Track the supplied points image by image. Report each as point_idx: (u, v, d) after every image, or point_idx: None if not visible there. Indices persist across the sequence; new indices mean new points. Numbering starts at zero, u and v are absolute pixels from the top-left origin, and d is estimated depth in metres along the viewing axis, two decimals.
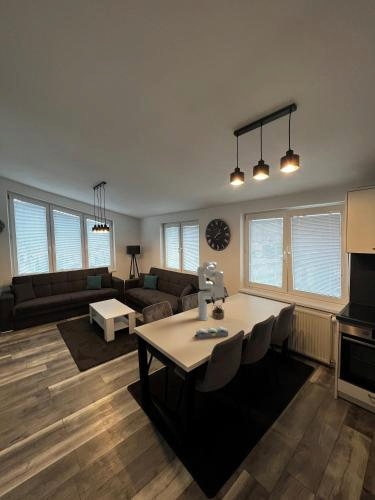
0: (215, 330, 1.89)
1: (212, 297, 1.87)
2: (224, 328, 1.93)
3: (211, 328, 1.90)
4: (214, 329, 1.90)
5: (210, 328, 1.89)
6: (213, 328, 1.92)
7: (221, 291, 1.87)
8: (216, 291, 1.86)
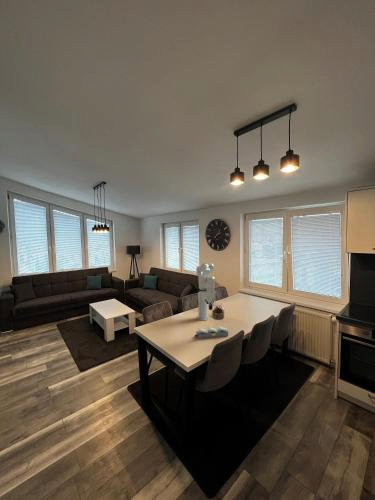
0: (215, 330, 1.89)
1: None
2: (224, 328, 1.93)
3: (211, 328, 1.90)
4: (214, 329, 1.90)
5: (210, 328, 1.89)
6: (213, 328, 1.92)
7: None
8: None
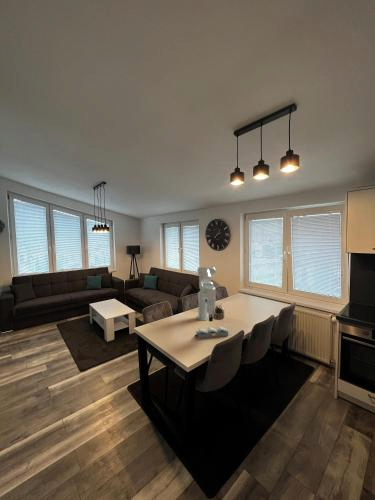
0: (215, 330, 1.89)
1: None
2: (224, 328, 1.93)
3: (211, 328, 1.90)
4: (214, 329, 1.90)
5: (210, 328, 1.89)
6: (213, 328, 1.92)
7: None
8: None
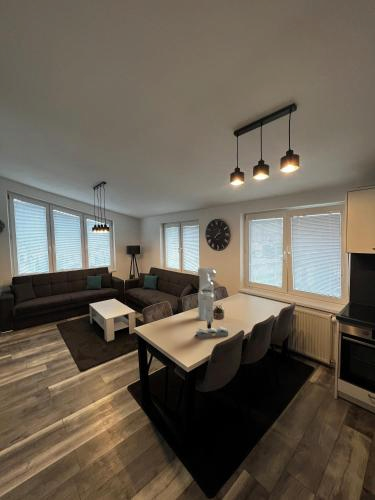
0: (215, 330, 1.89)
1: None
2: (224, 328, 1.93)
3: (211, 328, 1.90)
4: (214, 329, 1.90)
5: (210, 328, 1.89)
6: (213, 328, 1.92)
7: None
8: None
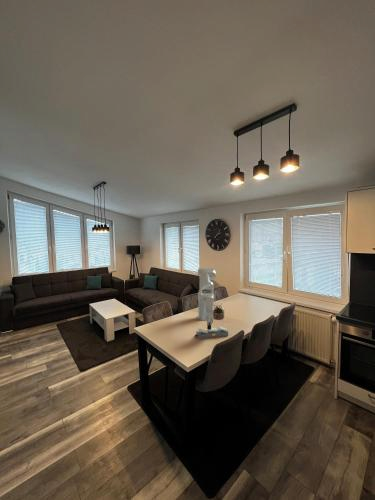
0: (215, 329, 1.89)
1: None
2: (224, 328, 1.93)
3: (211, 328, 1.89)
4: (214, 329, 1.90)
5: (210, 329, 1.89)
6: (213, 328, 1.92)
7: None
8: None
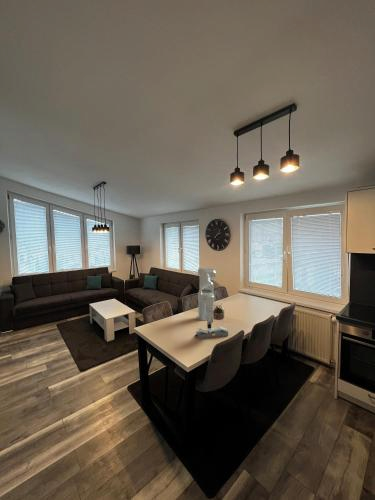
0: (215, 329, 1.89)
1: None
2: (224, 328, 1.93)
3: (210, 329, 1.89)
4: (214, 328, 1.90)
5: (209, 330, 1.89)
6: None
7: None
8: None
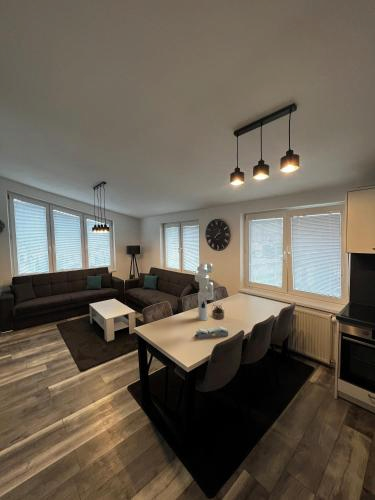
0: (215, 329, 1.88)
1: None
2: (224, 328, 1.93)
3: (210, 329, 1.89)
4: (214, 328, 1.90)
5: (209, 330, 1.89)
6: (213, 327, 1.92)
7: None
8: None
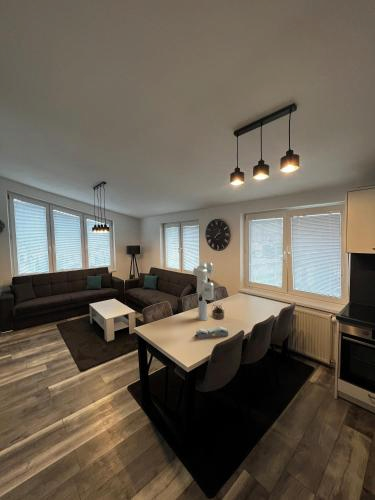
0: (215, 329, 1.88)
1: None
2: (224, 328, 1.93)
3: (210, 329, 1.89)
4: (214, 328, 1.90)
5: (209, 330, 1.89)
6: (213, 327, 1.92)
7: None
8: (203, 288, 2.00)
